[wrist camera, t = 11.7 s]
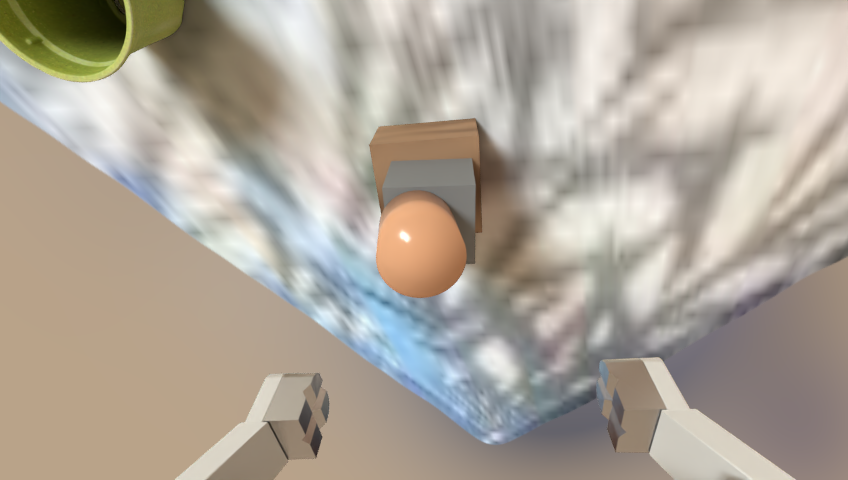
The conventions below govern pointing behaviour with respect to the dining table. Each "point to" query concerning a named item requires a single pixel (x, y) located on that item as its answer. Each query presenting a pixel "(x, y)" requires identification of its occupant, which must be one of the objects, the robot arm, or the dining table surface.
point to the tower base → (427, 150)
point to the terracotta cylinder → (419, 245)
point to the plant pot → (84, 33)
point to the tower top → (439, 189)
